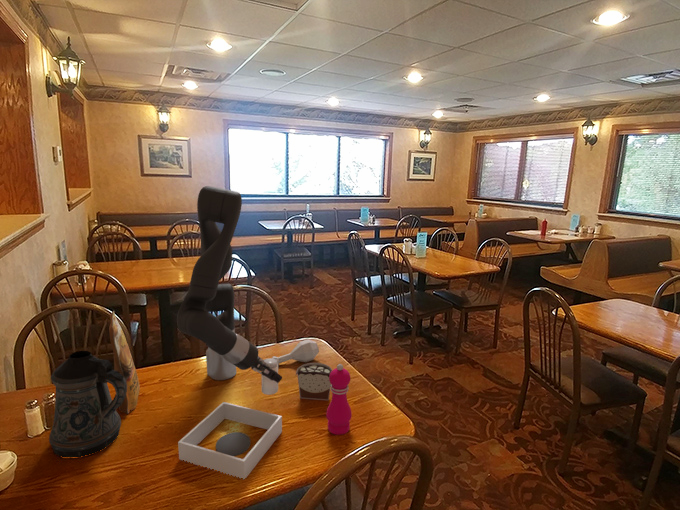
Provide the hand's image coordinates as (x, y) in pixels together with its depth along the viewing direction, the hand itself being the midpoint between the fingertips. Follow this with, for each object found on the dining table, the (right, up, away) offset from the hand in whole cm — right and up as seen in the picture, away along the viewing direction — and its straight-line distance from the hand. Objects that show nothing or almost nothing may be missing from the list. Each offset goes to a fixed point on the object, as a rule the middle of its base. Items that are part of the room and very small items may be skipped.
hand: (275, 375), depth 126 cm
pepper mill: (+20, -13, -8) cm, 25 cm away
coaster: (-9, -14, -16) cm, 23 cm away
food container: (+12, -9, +9) cm, 17 cm away
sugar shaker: (-2, -4, 0) cm, 5 cm away
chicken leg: (+3, -4, +30) cm, 31 cm away
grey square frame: (-9, -14, -16) cm, 23 cm away
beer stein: (-47, -13, -15) cm, 51 cm away
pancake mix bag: (-47, -9, +3) cm, 48 cm away
